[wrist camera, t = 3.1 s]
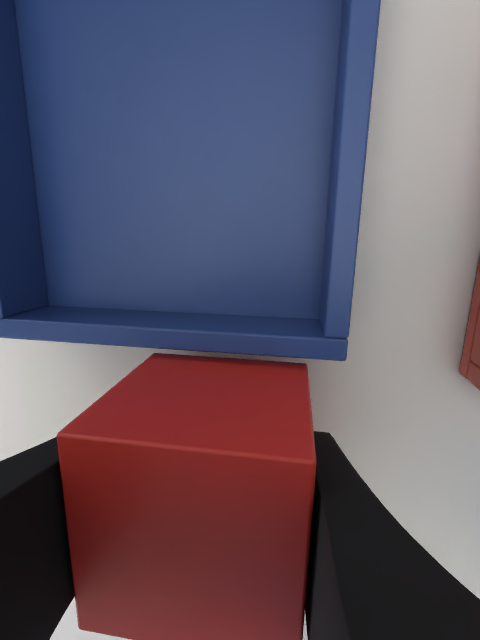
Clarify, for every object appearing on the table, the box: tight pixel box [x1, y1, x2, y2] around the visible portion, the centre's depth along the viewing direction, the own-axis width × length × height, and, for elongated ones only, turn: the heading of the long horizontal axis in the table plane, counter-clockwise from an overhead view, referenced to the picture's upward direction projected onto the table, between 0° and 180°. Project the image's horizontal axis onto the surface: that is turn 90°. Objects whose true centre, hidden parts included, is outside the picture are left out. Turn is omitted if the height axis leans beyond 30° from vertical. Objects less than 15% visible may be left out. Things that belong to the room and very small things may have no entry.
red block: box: [57, 353, 316, 640], centre depth 8 cm, size 4×4×4 cm
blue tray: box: [0, 0, 381, 361], centre depth 9 cm, size 11×10×2 cm
